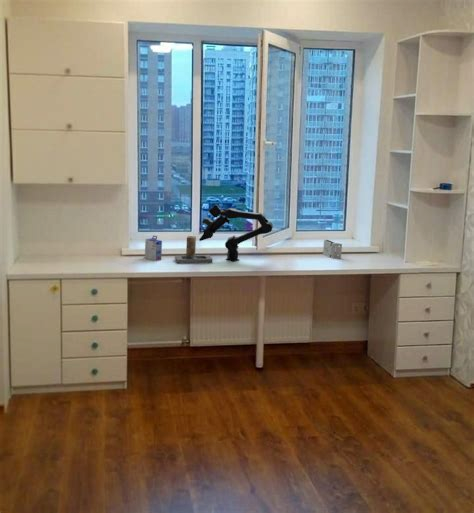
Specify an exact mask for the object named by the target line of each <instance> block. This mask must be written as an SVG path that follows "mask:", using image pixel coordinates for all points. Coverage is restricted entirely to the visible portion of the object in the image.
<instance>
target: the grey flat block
mask: <svg viewBox="0 0 474 513" xmlns="http://www.w3.org/2000/svg"><path fill="white" fill-rule="evenodd" d="M174 260H175V262H176V263H177V264H213V257H212V256H211V255H209V254H206V255H204V254H203V255H201V254H200V255H199V254H197V255H196V254H195V256H186V255H175V258H174Z"/></svg>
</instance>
